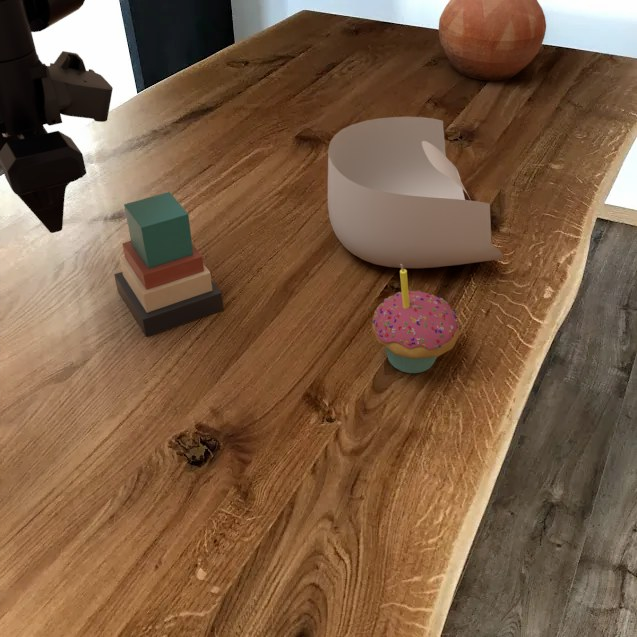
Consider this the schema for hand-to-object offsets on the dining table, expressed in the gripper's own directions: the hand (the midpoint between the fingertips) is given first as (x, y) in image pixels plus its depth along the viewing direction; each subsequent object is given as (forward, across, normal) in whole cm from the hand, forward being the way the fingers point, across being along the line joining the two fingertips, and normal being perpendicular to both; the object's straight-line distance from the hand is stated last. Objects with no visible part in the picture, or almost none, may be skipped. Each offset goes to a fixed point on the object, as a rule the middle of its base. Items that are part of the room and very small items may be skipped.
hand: (43, 208), depth 72 cm
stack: (+13, -4, -10) cm, 17 cm away
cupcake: (+13, -25, -28) cm, 40 cm away
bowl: (+13, -7, -40) cm, 43 cm away
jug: (+13, +30, -85) cm, 91 cm away
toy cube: (+6, -4, -10) cm, 12 cm away
